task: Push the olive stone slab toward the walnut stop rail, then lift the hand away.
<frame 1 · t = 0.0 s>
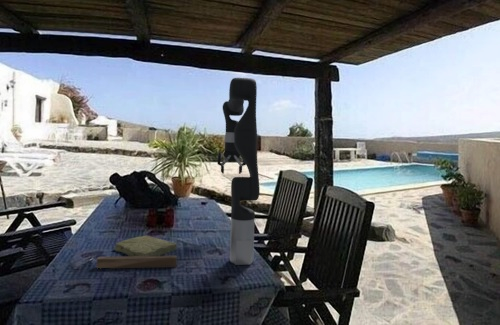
hand: (231, 173, 189), 29 cm above the table, tool pointing down, fingers open, 8 cm apart
olive stone slab: (144, 251, 157), on the table
walnut stop rail: (137, 266, 137), on the table
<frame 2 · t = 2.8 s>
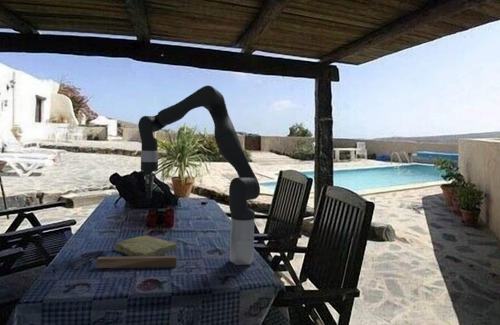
hand: (149, 198, 170), 19 cm above the table, tool pointing down, fingers closed
nothing on the table moved.
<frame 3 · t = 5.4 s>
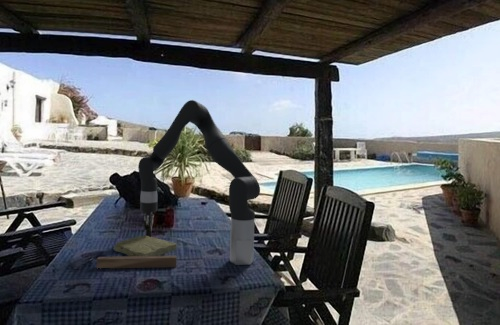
hand: (148, 238, 170), 1 cm above the table, tool pointing down, fingers closed
olive stone slab: (144, 251, 156), on the table, touching gripper
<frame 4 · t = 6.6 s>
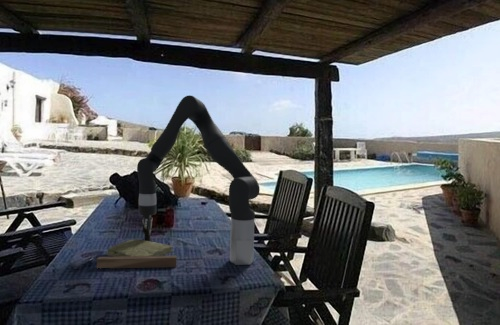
hand: (147, 242, 164), 1 cm above the table, tool pointing down, fingers closed
olive stone slab: (138, 255, 152), on the table
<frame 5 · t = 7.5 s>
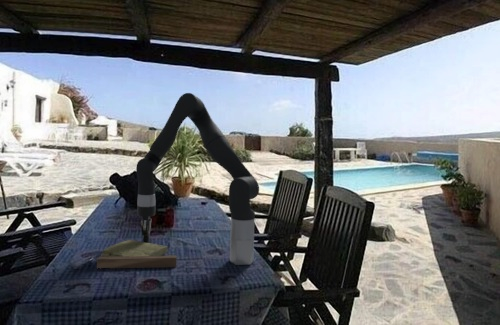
hand: (146, 243, 161), 1 cm above the table, tool pointing down, fingers closed
olive stone slab: (133, 256, 150), on the table, touching gripper
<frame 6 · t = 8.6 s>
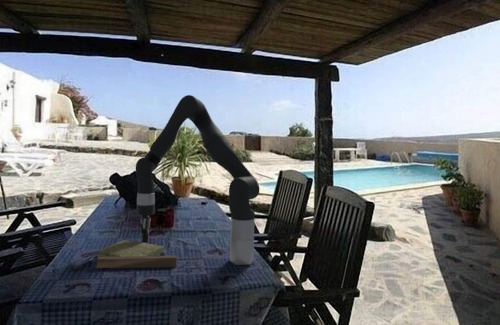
hand: (145, 241, 163), 1 cm above the table, tool pointing down, fingers closed
olive stone slab: (130, 256, 150), on the table
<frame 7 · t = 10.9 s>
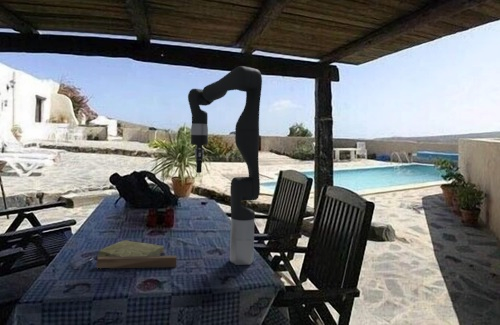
hand: (198, 172, 168), 32 cm above the table, tool pointing down, fingers closed
nothing on the table moved.
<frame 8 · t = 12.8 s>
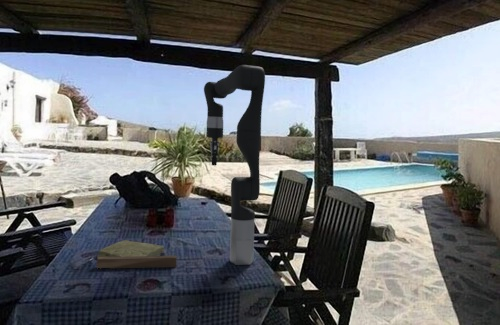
hand: (214, 165, 170), 35 cm above the table, tool pointing down, fingers closed
nothing on the table moved.
at the end: olive stone slab inside the target area (4.8 cm from its centre), on the table; olive stone slab moved 7.9 cm from its start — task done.
